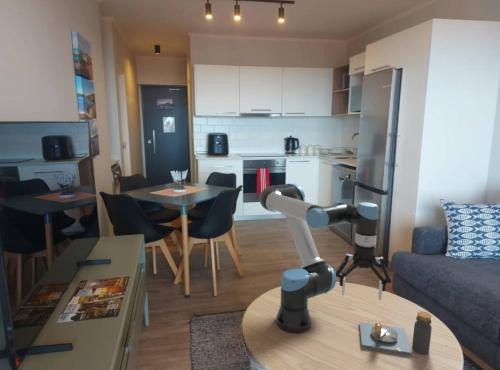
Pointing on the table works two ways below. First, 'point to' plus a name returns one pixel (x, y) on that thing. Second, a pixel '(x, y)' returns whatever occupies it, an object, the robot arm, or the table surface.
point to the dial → (384, 333)
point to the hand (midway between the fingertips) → (361, 295)
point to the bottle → (422, 333)
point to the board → (397, 348)
